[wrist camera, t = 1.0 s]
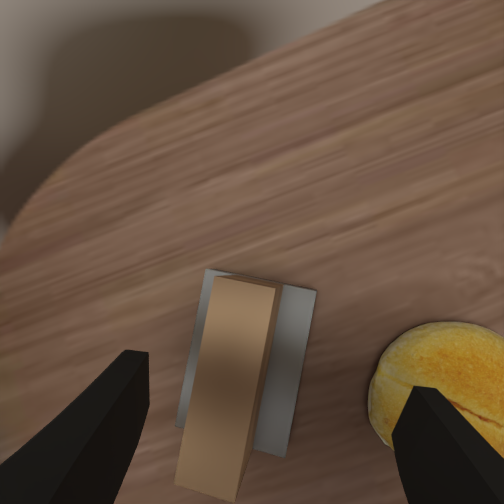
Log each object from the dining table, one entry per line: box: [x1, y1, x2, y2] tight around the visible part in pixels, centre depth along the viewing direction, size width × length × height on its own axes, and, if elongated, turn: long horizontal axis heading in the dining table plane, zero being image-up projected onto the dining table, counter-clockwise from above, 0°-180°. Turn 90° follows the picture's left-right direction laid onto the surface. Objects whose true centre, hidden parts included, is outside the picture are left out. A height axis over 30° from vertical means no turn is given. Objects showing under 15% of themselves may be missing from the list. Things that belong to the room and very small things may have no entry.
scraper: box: [174, 269, 317, 503], centre depth 20 cm, size 10×7×7 cm
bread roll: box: [368, 322, 504, 458], centre depth 19 cm, size 8×9×4 cm
